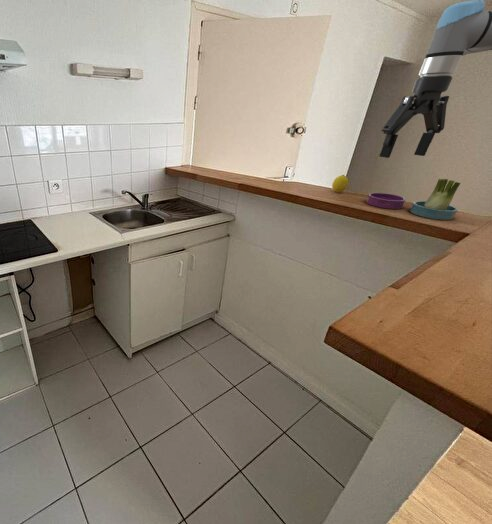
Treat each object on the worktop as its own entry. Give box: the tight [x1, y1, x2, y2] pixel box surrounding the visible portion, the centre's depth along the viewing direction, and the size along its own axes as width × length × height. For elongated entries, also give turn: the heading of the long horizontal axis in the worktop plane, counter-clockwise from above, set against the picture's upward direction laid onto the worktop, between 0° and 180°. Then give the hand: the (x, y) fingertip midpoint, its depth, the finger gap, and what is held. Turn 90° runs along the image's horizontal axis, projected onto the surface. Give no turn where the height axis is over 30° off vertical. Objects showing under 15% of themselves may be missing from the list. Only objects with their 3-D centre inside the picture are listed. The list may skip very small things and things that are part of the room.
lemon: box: [331, 174, 349, 194], centre depth 122 cm, size 6×6×8 cm
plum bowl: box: [365, 192, 407, 210], centre depth 108 cm, size 11×11×4 cm
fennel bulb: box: [424, 178, 461, 211], centre depth 95 cm, size 6×5×12 cm
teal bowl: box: [409, 200, 459, 221], centre depth 98 cm, size 11×11×4 cm
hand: (401, 156), depth 89 cm, fingers open, 13 cm apart
